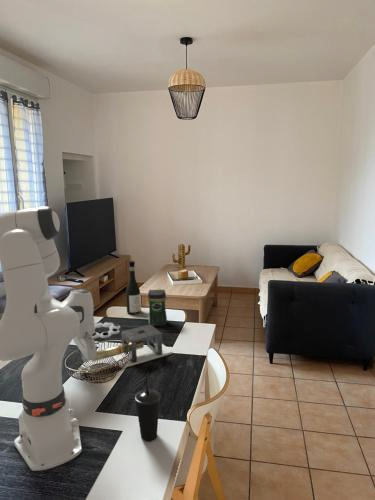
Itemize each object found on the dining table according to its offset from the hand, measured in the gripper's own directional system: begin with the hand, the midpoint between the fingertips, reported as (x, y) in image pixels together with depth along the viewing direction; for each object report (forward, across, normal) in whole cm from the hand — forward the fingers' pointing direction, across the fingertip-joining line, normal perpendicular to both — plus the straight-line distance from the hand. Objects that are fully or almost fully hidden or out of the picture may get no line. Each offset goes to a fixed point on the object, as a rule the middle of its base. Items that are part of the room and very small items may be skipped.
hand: (85, 360), depth 152 cm
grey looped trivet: (+5, +36, -19) cm, 41 cm away
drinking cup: (+5, -48, -4) cm, 49 cm away
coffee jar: (+5, +28, -47) cm, 55 cm away
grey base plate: (+5, 0, -25) cm, 25 cm away
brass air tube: (+1, 0, -14) cm, 14 cm away
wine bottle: (+5, +50, -43) cm, 66 cm away
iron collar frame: (+5, 0, -25) cm, 25 cm away
